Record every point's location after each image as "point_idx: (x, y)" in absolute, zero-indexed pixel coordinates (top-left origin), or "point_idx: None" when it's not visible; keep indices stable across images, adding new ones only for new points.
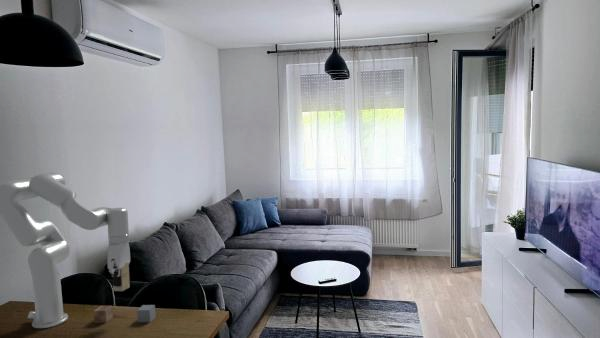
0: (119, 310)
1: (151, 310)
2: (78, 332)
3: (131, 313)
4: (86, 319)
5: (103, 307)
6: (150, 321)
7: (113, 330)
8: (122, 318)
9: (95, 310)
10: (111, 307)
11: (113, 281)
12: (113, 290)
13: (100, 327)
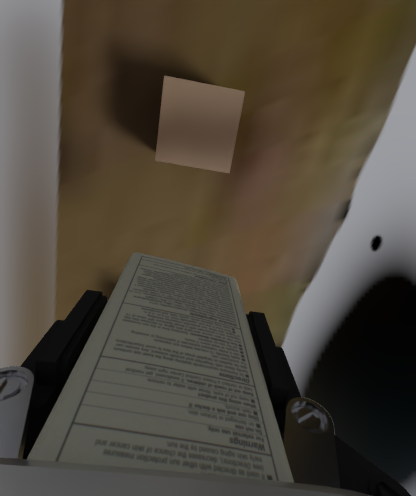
0: (305, 171)
1: None
2: (61, 42)
3: (250, 242)
4: (226, 14)
5: (212, 124)
6: None
7: (76, 220)
8: (200, 219)
9: (169, 86)
10: (220, 170)
11: (68, 321)
12: (131, 256)
13: (112, 145)
